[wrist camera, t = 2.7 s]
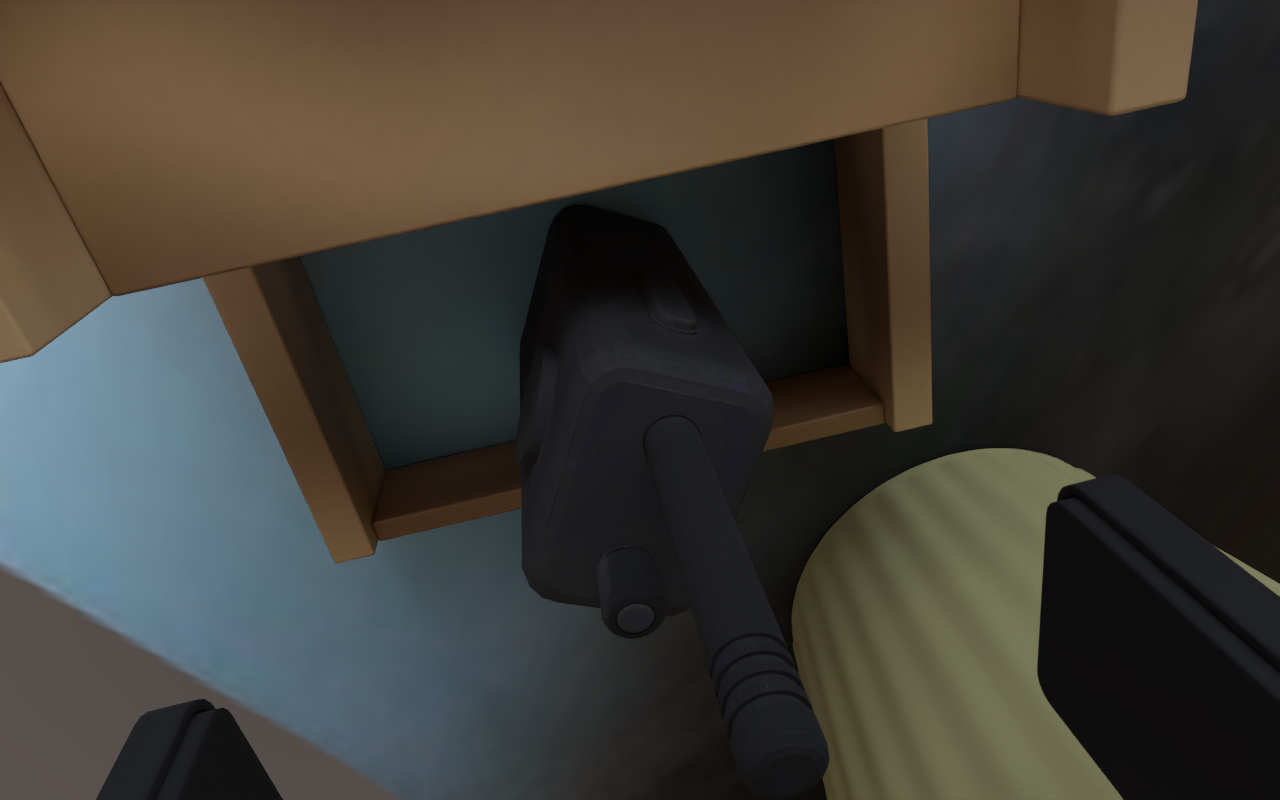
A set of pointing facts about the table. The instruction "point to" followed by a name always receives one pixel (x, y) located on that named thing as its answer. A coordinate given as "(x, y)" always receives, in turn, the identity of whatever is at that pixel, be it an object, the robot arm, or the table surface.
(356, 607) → the table surface
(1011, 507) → the potted cactus
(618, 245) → the walkie-talkie
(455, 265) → the table surface
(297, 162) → the step shelf
